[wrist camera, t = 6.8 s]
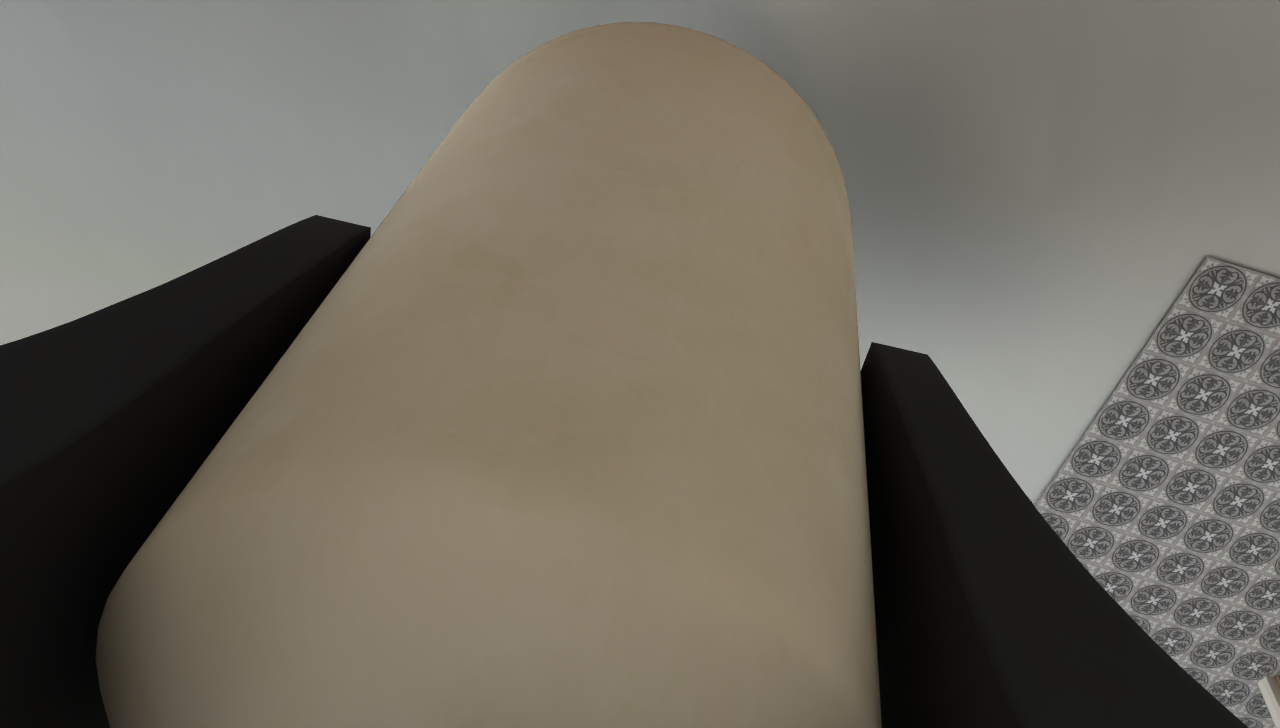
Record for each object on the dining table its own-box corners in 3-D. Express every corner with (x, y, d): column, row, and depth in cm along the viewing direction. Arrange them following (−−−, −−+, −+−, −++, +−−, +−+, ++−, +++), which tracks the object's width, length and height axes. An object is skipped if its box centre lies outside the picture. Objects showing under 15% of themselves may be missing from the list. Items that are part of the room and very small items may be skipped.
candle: (884, 33, 12) (1018, 815, 4) (819, 400, 15) (823, 1245, 7) (434, -3, 13) (-241, 632, 5) (462, 359, 16) (96, 1108, 8)
